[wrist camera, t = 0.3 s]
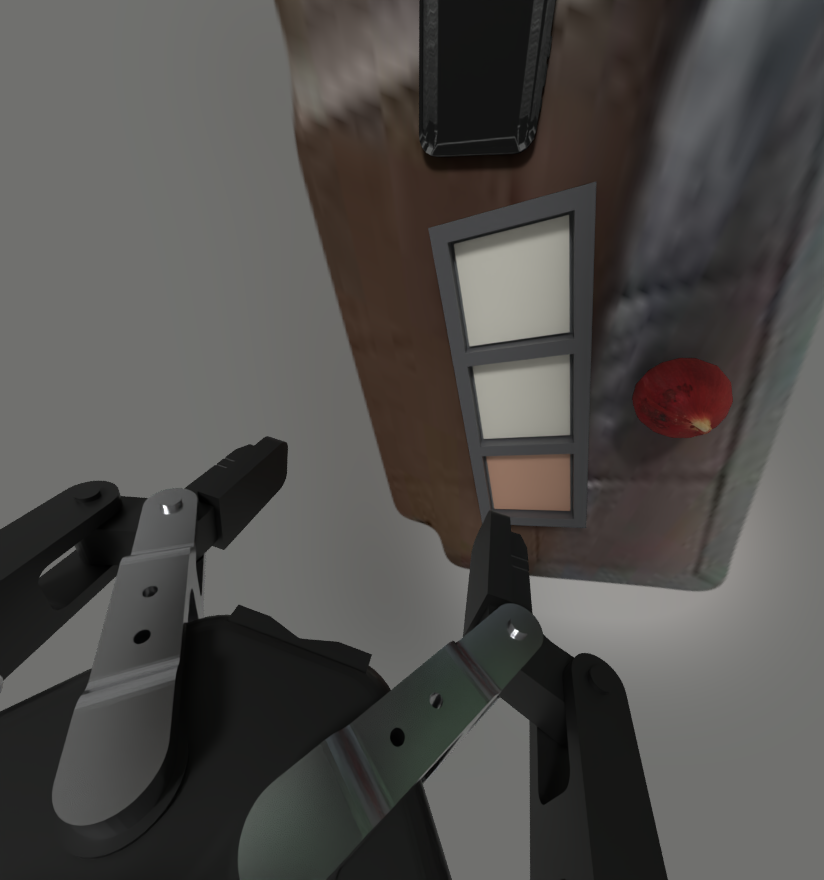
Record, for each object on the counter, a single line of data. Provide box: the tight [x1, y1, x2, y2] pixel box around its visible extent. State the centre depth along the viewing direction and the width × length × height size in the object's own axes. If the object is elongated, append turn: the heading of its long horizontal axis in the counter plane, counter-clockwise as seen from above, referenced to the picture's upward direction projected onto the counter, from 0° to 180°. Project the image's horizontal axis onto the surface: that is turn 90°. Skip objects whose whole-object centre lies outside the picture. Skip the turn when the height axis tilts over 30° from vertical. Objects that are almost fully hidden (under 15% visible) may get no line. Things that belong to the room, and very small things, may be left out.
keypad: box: [428, 182, 596, 528], centre depth 32 cm, size 30×11×3 cm, turn 13°
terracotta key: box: [486, 454, 570, 511], centre depth 37 cm, size 8×8×1 cm
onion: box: [632, 358, 733, 438], centre depth 26 cm, size 6×6×8 cm
